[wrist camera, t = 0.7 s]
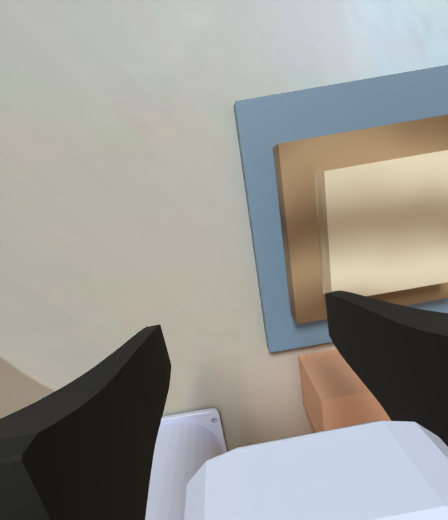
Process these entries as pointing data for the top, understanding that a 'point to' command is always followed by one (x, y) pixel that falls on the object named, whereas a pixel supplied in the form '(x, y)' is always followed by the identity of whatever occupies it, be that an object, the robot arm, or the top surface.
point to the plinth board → (309, 125)
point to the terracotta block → (335, 393)
